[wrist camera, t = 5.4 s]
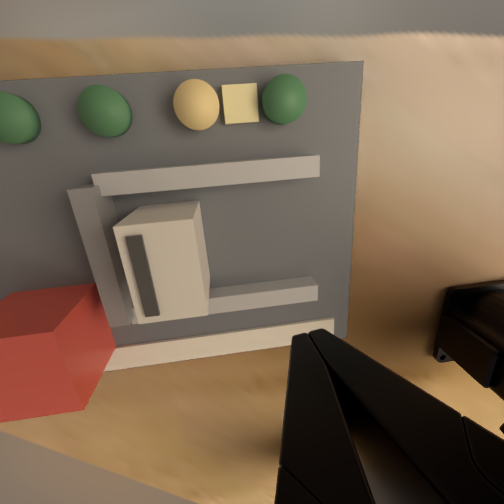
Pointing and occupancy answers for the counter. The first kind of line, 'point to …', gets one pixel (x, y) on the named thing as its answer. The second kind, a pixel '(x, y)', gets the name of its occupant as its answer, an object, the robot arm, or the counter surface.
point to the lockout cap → (51, 350)
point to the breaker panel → (188, 195)
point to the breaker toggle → (165, 261)
